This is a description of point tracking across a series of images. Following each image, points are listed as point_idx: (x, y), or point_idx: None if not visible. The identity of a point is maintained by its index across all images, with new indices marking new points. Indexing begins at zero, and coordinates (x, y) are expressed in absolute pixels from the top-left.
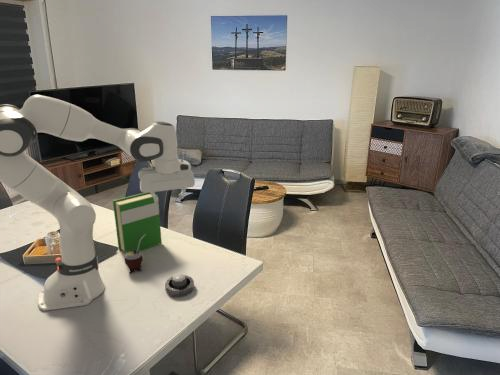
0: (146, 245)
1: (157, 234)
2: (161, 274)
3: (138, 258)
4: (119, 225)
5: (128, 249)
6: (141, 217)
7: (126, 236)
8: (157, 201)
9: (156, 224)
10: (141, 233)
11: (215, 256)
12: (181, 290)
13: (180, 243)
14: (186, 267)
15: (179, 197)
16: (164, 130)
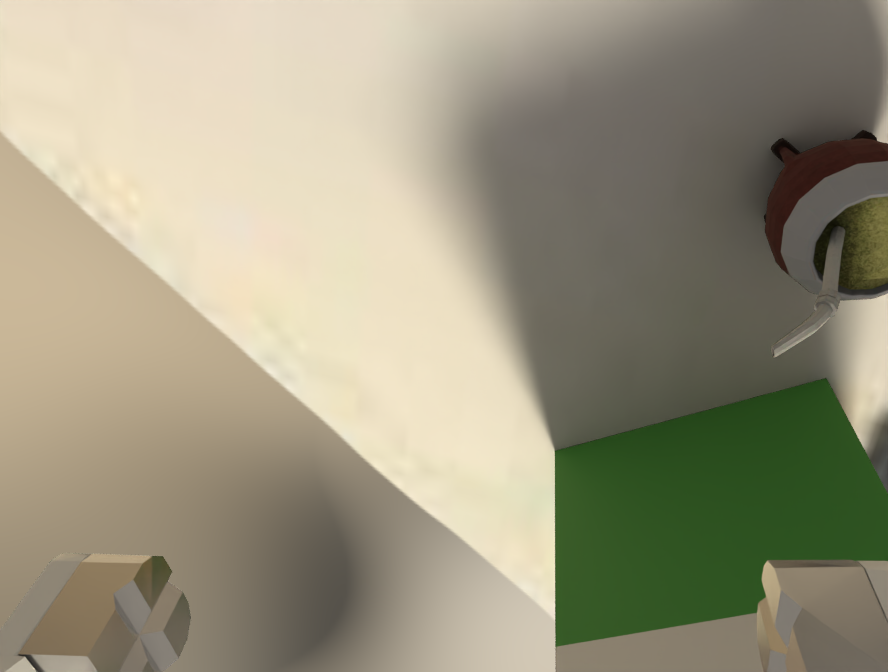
0: (666, 437)
1: (581, 500)
2: (629, 40)
3: (829, 173)
4: None
5: (812, 411)
6: (728, 633)
7: (855, 490)
8: (818, 576)
9: (585, 566)
10: (714, 509)
11: (198, 188)
12: None
13: (433, 415)
14: (419, 92)
15: (138, 604)
16: None
